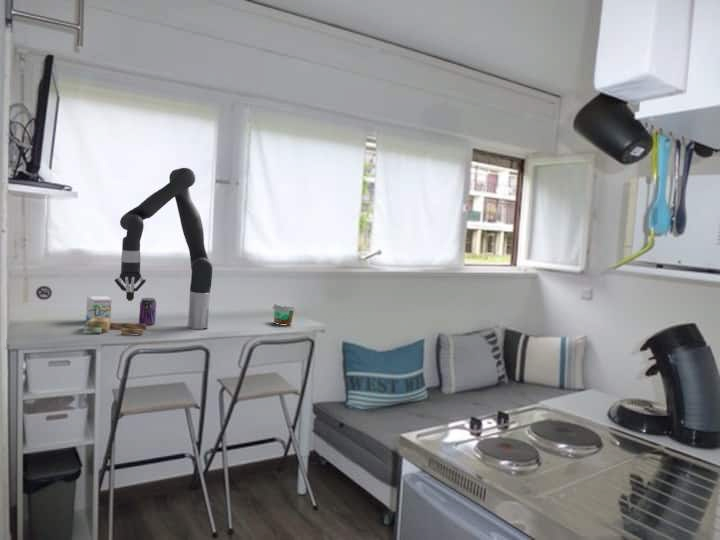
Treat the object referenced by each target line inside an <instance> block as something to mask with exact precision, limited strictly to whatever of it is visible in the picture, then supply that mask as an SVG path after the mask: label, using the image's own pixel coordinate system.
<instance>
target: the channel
mask: <svg viewBox="0 0 720 540" xmlns="http://www.w3.org/2000/svg"><path fill="white" fill-rule="evenodd" d="M90 320H91V319H90ZM90 320H88V321H86V322H85V323H84V327H83V334H84V333H101V329H102V328H93V327H89V321H90ZM147 326H148V325H147V324H140V323H135V322H134V323H131V322H130V323H129V322H124V323H123V322H110V328H116V330H121V332H120V334H138V335H137V336H140V335H143V336H144V331H146V330H147ZM117 328H118V329H117ZM101 334H102V333H101Z"/></svg>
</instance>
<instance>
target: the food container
mask: <svg viewBox="0 0 720 540" xmlns="http://www.w3.org/2000/svg"><path fill="white" fill-rule="evenodd" d="M272 309H273V323H274V322H276V323H279V324H290V323H291V324H292V321H293V315H294V311H296V310H295V306H286V305H277V304H276V303H275V302H274V304H273V307H272Z"/></svg>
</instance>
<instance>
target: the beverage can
mask: <svg viewBox="0 0 720 540" xmlns="http://www.w3.org/2000/svg"><path fill="white" fill-rule="evenodd" d="M138 313H139V314H138V316H139V318H138V324H147V325H146V326H152V325H154V324H156V315H157V302H156V298H154V297H143V298H141V300H140V302H139V312H138Z"/></svg>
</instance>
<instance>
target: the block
mask: <svg viewBox="0 0 720 540" xmlns="http://www.w3.org/2000/svg"><path fill="white" fill-rule="evenodd" d="M110 319H112V317H111V318H92V319H91V320H90V321H89V327H93V328H102V329H101V332H107V331H108V330H109V329H110V323H111V321H110ZM110 330H111V329H110ZM110 330H109V331H110ZM109 331H108V332H109ZM108 332H107V333H108Z"/></svg>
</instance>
